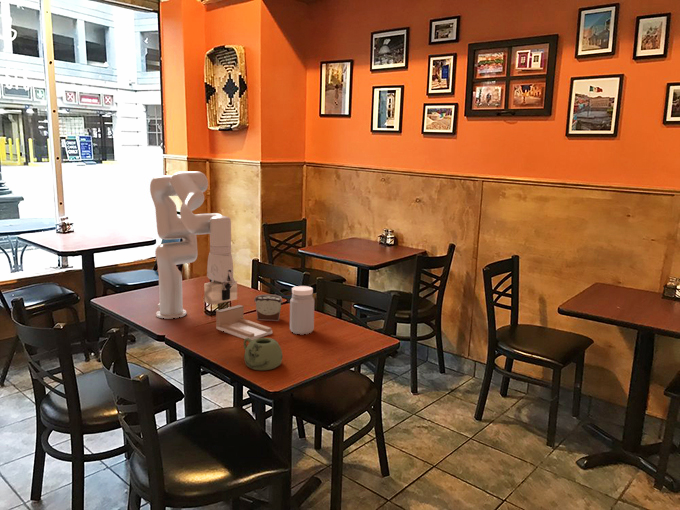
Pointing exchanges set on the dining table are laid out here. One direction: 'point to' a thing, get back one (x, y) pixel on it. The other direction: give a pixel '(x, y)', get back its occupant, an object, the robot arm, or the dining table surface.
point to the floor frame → (239, 324)
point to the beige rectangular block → (218, 292)
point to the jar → (302, 310)
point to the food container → (268, 307)
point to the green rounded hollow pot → (262, 353)
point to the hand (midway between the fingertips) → (221, 297)
